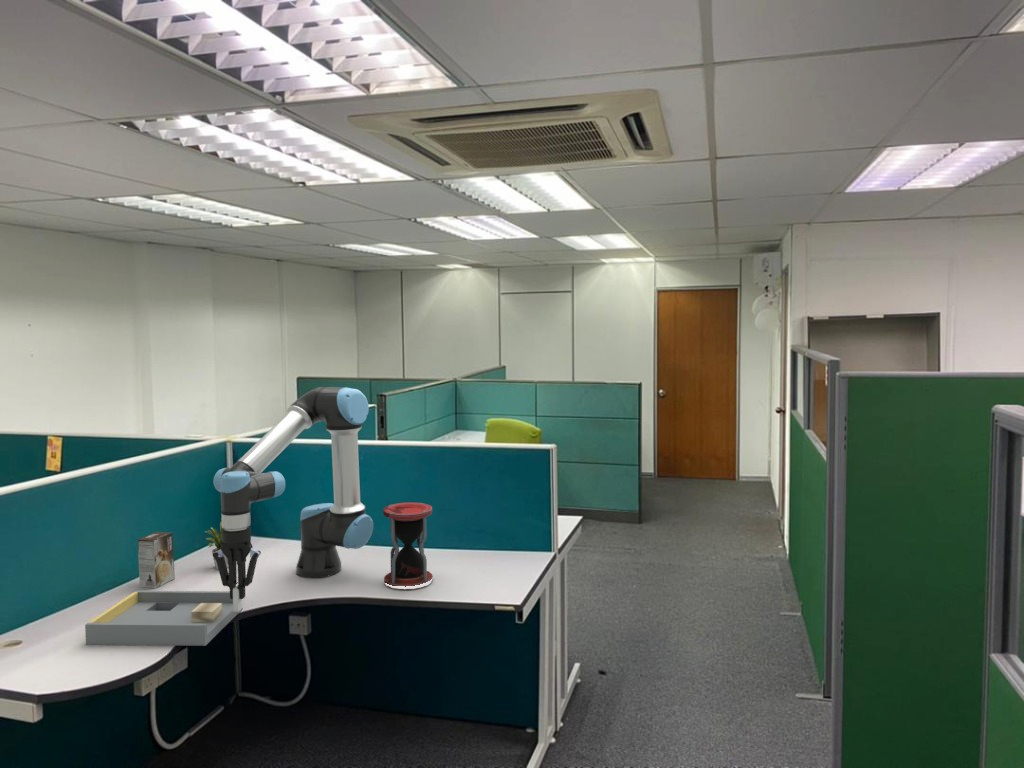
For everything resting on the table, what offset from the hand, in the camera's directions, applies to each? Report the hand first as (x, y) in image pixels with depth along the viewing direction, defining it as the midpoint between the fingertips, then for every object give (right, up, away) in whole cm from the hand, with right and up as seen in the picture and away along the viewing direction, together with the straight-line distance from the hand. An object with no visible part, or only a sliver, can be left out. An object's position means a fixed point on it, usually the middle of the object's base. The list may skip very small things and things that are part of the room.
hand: (237, 609), depth 193 cm
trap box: (-20, -5, +1) cm, 21 cm away
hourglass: (+43, -3, +36) cm, 56 cm away
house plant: (-25, -2, +49) cm, 55 cm away
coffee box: (-40, -3, +34) cm, 53 cm away
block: (-9, -2, +1) cm, 9 cm away
